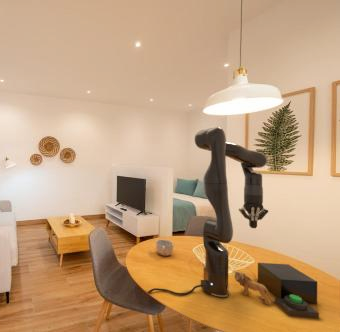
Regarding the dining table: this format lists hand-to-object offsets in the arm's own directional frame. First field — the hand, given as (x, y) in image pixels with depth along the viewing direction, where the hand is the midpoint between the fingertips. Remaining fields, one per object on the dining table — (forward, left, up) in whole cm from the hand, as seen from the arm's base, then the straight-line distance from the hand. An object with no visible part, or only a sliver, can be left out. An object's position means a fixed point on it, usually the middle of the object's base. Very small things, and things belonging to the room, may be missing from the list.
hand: (253, 227), depth 107 cm
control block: (+4, -21, -27) cm, 34 cm away
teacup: (-38, +26, -27) cm, 53 cm away
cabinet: (+9, -8, -27) cm, 30 cm away
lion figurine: (-8, -14, -27) cm, 31 cm away
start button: (+4, -21, -23) cm, 32 cm away
